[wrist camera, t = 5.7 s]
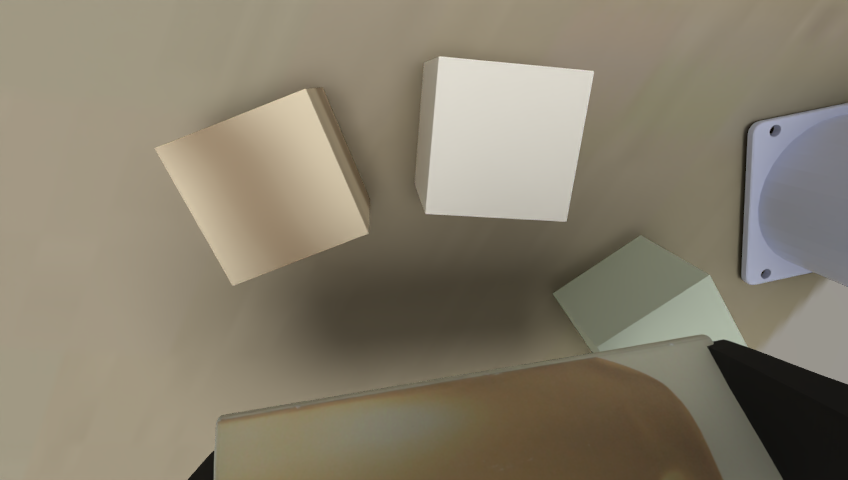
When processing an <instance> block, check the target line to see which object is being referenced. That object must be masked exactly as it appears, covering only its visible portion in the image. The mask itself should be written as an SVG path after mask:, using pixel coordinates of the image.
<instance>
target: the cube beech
mask: <svg viewBox="0 0 848 480" xmlns="http://www.w3.org/2000/svg"><path fill="white" fill-rule="evenodd" d="M155 150H156V152H157V154H158V155H159V157H160V159H161V161H162V162H163V164H164V166H165V168H166V169H167V171H168V173H169V175H170V176H171V178H172V180H173V182H174V183H175V185H176V187H177V189H178V191H179V192H180V194H181V196H182V198H183V199H184V201H185V203H186V205H187V206H188V208H189V210H190V212H191V213H192V215H193V217H194V219H195V220H196V222H197V224H198V226H199V228H200V229H201V231H202V233H203V235H204V236H205V238H206V240H207V242H208V243H209V245H210V247H211V249H212V250H213V252H214V254H215V256H216V257H217V259H218V261H219V263H220V265H221V266H222V268H223V270H224V272H225V273H226V275H227V277H228V279H229V280H230V282H231V284H232V286H234V285H237V284H239V283H242V282H244V281H247V280H250V279H252V278H255V277H257V276H260V275H263V274H265V273H268V272H270V271H273V270H276V269H278V268H281V267H283V266H286V265H288V264H291V263H294V262H296V261H299V260H301V259H304V258H307V257H309V256H312V255H314V254H317V253H320V252H322V251H325V250H327V249H330V248H333V247H335V246H338V245H340V244H343V243H345V242H348V241H351V240H353V239H356V238H358V237H361V236H364V235H366V234H369V215H370V198H369V196H368V193H367V191H366V189H365V186H364V184H363V182H362V179H361V177H360V175H359V172H358V170H357V167H356V165H355V163H354V160H353V158H352V156H351V153H350V151H349V149H348V146H347V144H346V141H345V139H344V137H343V134H342V132H341V130H340V127H339V125H338V123H337V120H336V118H335V115H334V113H333V111H332V108H331V106H330V104H329V101H328V99H327V97H326V94H325V92H324V89H323V87H321V88H307V89H303V90H301V91H298V92H296V93H293V94H291V95H288V96H285V97H283V98H280V99H278V100H275V101H273V102H270V103H268V104H265V105H263V106H260V107H258V108H255V109H253V110H250V111H247V112H245V113H242V114H240V115H237V116H235V117H232V118H230V119H227V120H225V121H222V122H220V123H217V124H215V125H212V126H210V127H207V128H204V129H202V130H199V131H197V132H194V133H192V134H189V135H187V136H184V137H182V138H179V139H177V140H174V141H172V142H169V143H166V144H164V145H161V146H159V147H156V148H155Z"/></svg>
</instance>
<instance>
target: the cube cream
mask: <svg viewBox="0 0 848 480" xmlns="http://www.w3.org/2000/svg"><path fill="white" fill-rule="evenodd" d="M593 75H594V71H588V70H577V69H567V68H556V67H546V66H535V65H525V64H514V63H504V62H493V61H482V60H472V59H461V58H451V57H440V56H439V57H436V58H434V59H432V60H429V61H427V62H424V67H423V80H422V93H421V106H420V119H419V132H418V145H417V158H416V171H415V187H416V190H417V192H418V195H419V198H420V201H421V203H422V206H423V209H424V211H425V214H436V215H454V216H472V217H490V218H509V219H527V220H545V221H563V222H566V221H567V216H568V210H569V205H570V200H571V194H572V189H573V183H574V178H575V172H576V167H577V162H578V156H579V151H580V145H581V140H582V135H583V129H584V124H585V118H586V113H587V107H588V102H589V97H590V91H591V86H592V80H593Z"/></svg>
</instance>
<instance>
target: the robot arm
mask: <svg viewBox="0 0 848 480" xmlns="http://www.w3.org/2000/svg"><path fill="white" fill-rule="evenodd" d="M772 126H773V127H774V130H773V132H772V134H771V135H770V129H771V128H772ZM763 270H765V271H764V273H763V274H762V275H761V273H762V271H763ZM812 272H814V273H817V274H819V275H821V276H824V277H826V278H828V279H830V280H833V281H835V282H838V283H840V284H842V285H844V286H847V287H848V103H844V104H840V105H835V106H830V107H825V108H820V109H815V110H810V111H805V112H800V113H796V114H791V115H786V116H781V117H776V118H771V119H766V120H761V121H758V122H755V123H754V124H753V125H752V126H751V127H750V129H749V131H748V139H747V161H746V183H745V205H744V226H743V248H742V270H741V277H742V280H743V281H744V282H746V283H748V284H750V285H756V284H761V283H765V282H770V281H775V280H779V279H784V278H789V277H793V276H798V275H802V274H807V273H812ZM713 343H714V344H713V345H710V346H707V347H708V349H709V351H710V353H711V355H712V357H713V358H714V360H715V362H716V364H717V366H718V368H719V369H720V371H721V373H722V375H723V377H724V379H725V381H726V383H727V384H728V386H729V388H730V390H731V391H732V393H733V395H734V396H735V398H736V400H737V401H738V403H739V405H740V406H741V408H742V410H743V412H744V413H745V415H746V417H747V418H748V420H749V422H750V423H751V425H752V427H753V429H754V430H755V432H756V434H757V435H758V437H759V439H760V440H761V442H762V444H763V446H764V447H765V449H766V451H767V452H768V454H769V456H770V458H771V459H772V461H773V463H774V465H775V466H776V468H777V470H778V471H779V473H780V475H781V477H782V478H783V480H848V384H845V383H842V382H839V381H836V380H834V379H831V378H828V377H825V376H822V375H819V374H817V373H814V372H811V371H809V370H806V369H804V368H801V367H798V366H796V365H793V364H790V363H788V362H785V361H783V360H780V359H777V358H774V357H772V356H769V355H767V354H764V353H762V352H759V351H756V350H754V349H751V348H748V347H746V346H743V345H740V344H737V343H734V342H731V341H728V340H725V339H723V340H718V341H713ZM188 480H214V451H213V452H212V453H211V454H210V455H209V456H208V457H207V458H206V459H205V461H204V462H203V463H202V464H201V465H200V466H199V467H198V468H197V470H196V471H195V472H194V473H193V474H192V475H191V477H190V478H189V479H188Z"/></svg>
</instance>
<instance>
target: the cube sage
mask: <svg viewBox="0 0 848 480" xmlns="http://www.w3.org/2000/svg"><path fill="white" fill-rule="evenodd" d="M553 295H554V297H555V298H556V300H557V301H558V302H559V304H560V305H561V307H562V308H563V310H564V311H565V313H566V314H567V316H568V317H569V319H570V320H571V322H572V323H573V325H574V326H575V328H576V329H577V331H578V332H579V333H580V335H581V336H582V338H583V339H584V341H585V342H586V344H587V345H588V347H589V348H590V350H591V351H592V353H595V352H601V351H607V350H613V349H619V348H625V347H631V346H636V345H642V344H648V343H654V342H659V341H665V340H671V339H677V338H683V337H688V336H695V335H701V334H704V335H707V336H709V337H710V338H711V339H712V341H718V340H723V339H725V340H728V341H731V342H734V343H737V344H740V345H743V346H746V347H747V345H746V343H745V341H744V339H743V338H742V336H741V334H740V332H739V330H738V328H737V326H736V324H735V322H734V320H733V318H732V317H731V315H730V313H729V311H728V309H727V307H726V305H725V303H724V301H723V299H722V297H721V295H720V294H719V292H718V290H717V288H716V286H715V284H714V282H713V280H712V278H711V276H710V275H709V274H707V273H706V272H704V271H702V270H700V269H699V268H697V267H695V266H693V265H692V264H690V263H688V262H687V261H685V260H683V259H681V258H680V257H678V256H676V255H674V254H673V253H671V252H669V251H668V250H666V249H664V248H662V247H661V246H659V245H657V244H655V243H654V242H652V241H650V240H649V239H647V238H645V237H643V236H642V235H640V236H638V237H637V238H635V239H634V240H632V241H631V242H629V243H628V244H626V245H625V246H623V247H622V248H620V249H619V250H617V251H616V252H614V253H613V254H611V255H610V256H608V257H607V258H605V259H604V260H602V261H601V262H599V263H598V264H596V265H595V266H593V267H592V268H590V269H589V270H587V271H586V272H584V273H583V274H581V275H580V276H578V277H577V278H575V279H574V280H572V281H571V282H569V283H568V284H566V285H565V286H563V287H562V288H560V289H559V290H557V291H556V292H554V293H553Z"/></svg>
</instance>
